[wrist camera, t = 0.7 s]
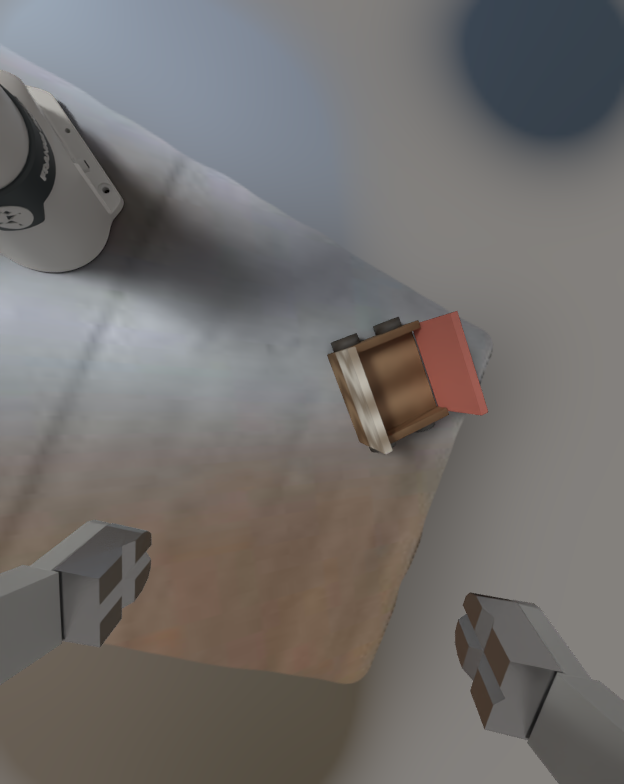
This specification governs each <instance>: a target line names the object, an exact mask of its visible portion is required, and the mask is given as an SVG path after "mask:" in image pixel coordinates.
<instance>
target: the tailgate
mask: <svg viewBox="0 0 624 784" xmlns="http://www.w3.org/2000/svg"><path fill="white" fill-rule="evenodd" d="M419 324H420V327H421V328H419V329H416V330H414V331H413V332H414V335H415V338H416V341H417V344H418V347H419V350H420V353H421V356H422V359H423V362H424V365H425V368H426V371H427V374H428V377H429V380H430V383H431V386H432V389H433V392H434V395H435V398H436V401H437V404H438V407H445V408H447V410H448V411H453V412H461V413H468V414H475V415H483V414H486V413H487V412H488V409H487V406H486V403H485V400H484V396H483V393H482V390H481V387H480V383H479V380H478V377H477V374H476V370H475V367H474V364H473V361H472V357H471V354H470V351H469V348H468V344H467V341H466V338H465V335H464V331H463V328H462V325H461V322H460V318H459V315H458V312H457V311H455V312H452V313H449V314H446V315H442V316H439V317H436V318H433V319H429V320H426V321H423V322H420V323H419Z"/></svg>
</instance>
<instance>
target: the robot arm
mask: <svg viewBox="0 0 624 784" xmlns="http://www.w3.org/2000/svg"><path fill="white" fill-rule="evenodd" d="M106 190H109V193H107V194H106V193H104V192H105V191H106ZM123 205H124V201H123V198H122V197H121V195H120V194H119V192H118V191H117V189H116V188H115V186H114V185H113V183H112V182H111V180H110V179H109V177H108V176H107V174H106V173H105V171H104V170H103V168H102V167H101V165H100V164H99V162H98V161H97V159H96V158H95V156H94V155H93V153H92V152H91V150H90V149H89V147H88V146H87V144H86V143H85V141H84V140H83V138H82V137H81V135H80V134H79V132H78V131H77V130H76V128H75V127H74V125H73V124H72V122H71V121H70V119H69V118H68V116H67V115H66V113H65V112H64V110H63V109H62V107H61V106H60V104H59V103H58V102H57V100H56V99H55V98H54V96H53V95H52V94H50V93H49V92H47V91H44V90H41V89H39V88H35V87H31V86H27V85H24V83H23V82H22V81H21V79H19V78H18V77H17V76H15V75H13V74H11V73H9V72H6V71H3V70H0V253H1V254H3V255H4V256H6V257H7V258H9V259H10V260H12V261H14V262H16V263H18V264H20V265H22V266H24V267H27V268H30V269H34V270H38V271H44V272H64V271H70V270H73V269H77V268H79V267H82V266H84V265H86V264H87V263H89V262H90V261H92V260H93V259H94V258H95V257H96V256H97V255H98V254H99V253H100V252H101V251H102V249H103V248H104V246H105V244H106V242H107V239H108V236H109V232H110V227H111V224H112V221H113V219H114V218H115V217H116V216H117V215H118V214H119V212H120V211H121V210H122V208H123ZM150 546H151V533H150V532H148V531H145V530H141V529H136V528H132V527H127V526H123V525H118V524H113V523H112V524H111V523H107V522H102V521H98V520H92V521H88V522H86V523H85V524H84V525H82V526H81V527H80V528H79V529H77V530H76V531H75V532H73V533H72V534H71V535H69V536H68V537H67V538H66V539H64V540H63V541H62V542H60V543H59V544H58V545H56V546H55V547H54V548H53V549H51V550H50V551H49V552H47V553H46V554H45V555H44V556H42V557H41V558H40V559H38V560H37V561H36V562H34V563H33V564H32V565H31V566H26V565H22V566H19V567H17V568H14V569H11V570H9V571H6V572H3V573H1V574H0V685H1V684H3V683H4V682H5V681H7V680H9V679H10V678H11V677H13V676H14V675H16V674H17V673H19V672H20V671H22V670H23V669H25V668H26V667H28V666H29V665H31V664H32V663H34V662H35V661H37V660H38V659H40V658H41V657H43V656H44V655H45V654H47V653H49V652H50V651H52V650H53V649H54V648H56V647H57V646H59V645H60V644H62V641H66V642H72V643H77V644H83V645H89V646H95V647H101V645H102V644H103V643H104V641H105V640H106V639H107V637H108V636H109V635H110V633H111V632H112V631H113V629H114V628H115V627H116V625H117V624H118V623H119V621H120V620H121V619H122V608H124V607H125V606H127V605H129V604H131V603H132V602H134V601H135V600H136V598H137V597H138V596H139V594H140V593H141V591H142V590H143V588H144V585H145V583H146V581H147V579H148V576H149V572H150V568H151V559H150V557H149V556H148V554H147V552H146V551H147V549H148V548H149V547H150ZM463 606H464V609H465V611H466V613H467V614H465V615H464V616H463V617H461V618H460V619H458V623H457V626H456V630H455V645H456V650H457V655H458V658H459V661H460V664H461V666H462V669H463V670H464V671H465V672H466V673H467V674H468V675H469V676H470V678H471V679H472V680H473V683H472V687H471V694H472V697H473V700H474V702H475V705H476V708H477V710H478V713H479V716H480V719H481V721H482V724H483V726H484V729H485V730H489V731H493V732H497V733H501V734H505V735H509V736H513V737H517V738H521V739H525V740H528V742H527V743H528V744H529V746H530V747H531V748H532V749H533V751H534V752H535V754H536V755H537V756H538V757H539V759H540V760H541V761H542V763H543V764H544V765H545V766H546V768H547V769H548V770H549V772H550V773H551V774H552V776H553V777H554V778H555V780H556V781H557V782H558V783H559V784H624V701H623V700H622V699H621V698H620V697H619V696H617V695H616V694H615V693H614V692H612V691H611V690H610V689H609V688H607V687H606V686H605V685H604V684H603V683H601V682H600V681H597V680H592V679H591V678H590V676H589V675H588V674H587V672H586V671H585V669H584V668H583V667H582V665H581V664H580V663H579V661H578V660H577V658H576V657H575V655H574V654H573V653H572V652H571V650H570V649H569V647H568V646H567V644H566V643H565V642H564V640H563V639H562V638H561V636H560V635H559V633H558V632H557V631H556V629H555V628H554V626H553V625H552V624H551V622H550V621H549V620H548V618H547V617H546V615H545V614H544V613H543V611H542V610H541V609H540V608H539V607H538V606H536V605H535V604H534V603H528V602H522V601H516V600H509V599H503V598H498V597H492V596H487V595H481V594H476V593H469V594H468V595H467V596H466V597H465V601H464V603H463Z"/></svg>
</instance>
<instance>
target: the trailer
mask: <svg viewBox="0 0 624 784" xmlns="http://www.w3.org/2000/svg"><path fill="white" fill-rule="evenodd" d="M373 328H374V331H375V334H376V336H373V337H371V338H368V339H366V340H363V341H361V342H360V341H359V338H358V335H357V333H355V334H353V335H350V336H347V337H345V338H342V339H340V340H337V341H335V342H332V343H331V345H332V348H333V351H334V352H333V353H331V354H328V355H327V356H328V359H329V361H330V364H331V367H332V369H333V372H334V375H335V377H336V380H337V383H338V385H339V388H340V391H341V393H342V396H343V399H344V401H345V404H346V407H347V409H348V412H349V415H350V417H351V420H352V423H353V425H354V428H355V431H356V433H357V436H358V439H359V441H360V442H361V443H363V444H365V445H367V446H369V448H370V450H371V451H372V452H382V453H384V454H388V453H389V452H391V451H393V450H392V447H394V446H395V444H396V442H395V441H397V440H399V439H401V438H403V437H405V436H407V435H409V434H411V433H413V432H422V431H425V430H428V429H430V428H432V427H433V426H434V425H435V423H434V422H435V421H437V420H439V419H441V418H443V417H445V416H447V415H449V413H448V410H447V408H445V407H437V406H436V403H435V400H434V397H433V394H432V391H431V388H430V385H429V382H428V379H427V376H426V373H425V370H424V367H423V364H422V361H421V358H420V355H419V352H418V349H417V346H416V343H415V340H414V337H413V334H412V331H414V330H416V329H419V328H421V327H420V324H419V321H414V322H411V323H408V324H405V325H401V322H400V319H399V317H396V318H394V319H391V320H389V321H386V322H383V323H381V324H378V325H376V326H373Z"/></svg>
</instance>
